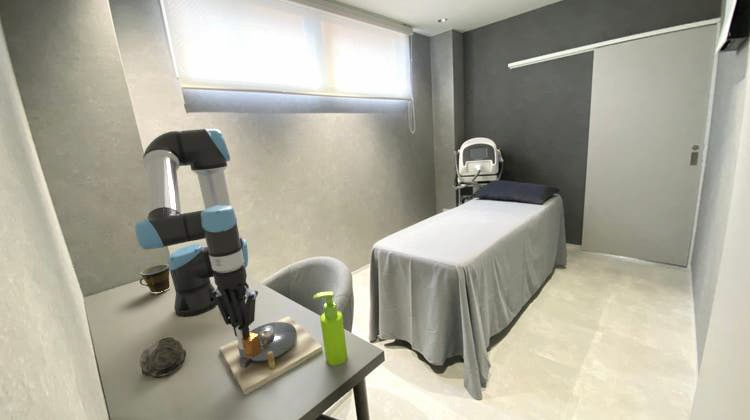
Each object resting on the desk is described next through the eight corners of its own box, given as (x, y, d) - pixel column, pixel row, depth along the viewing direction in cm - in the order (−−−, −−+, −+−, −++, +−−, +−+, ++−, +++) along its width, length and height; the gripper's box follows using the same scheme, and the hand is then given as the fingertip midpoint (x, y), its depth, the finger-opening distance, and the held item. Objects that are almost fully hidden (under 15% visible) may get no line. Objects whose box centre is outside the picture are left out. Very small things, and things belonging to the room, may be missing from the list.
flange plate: (266, 322, 102) (262, 304, 100) (307, 331, 96) (304, 312, 94) (220, 360, 86) (215, 340, 84) (267, 374, 80) (262, 352, 78)
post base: (220, 351, 94) (216, 334, 93) (289, 319, 107) (286, 304, 106) (244, 395, 78) (240, 374, 76) (322, 350, 91) (319, 332, 89)
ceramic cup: (159, 284, 142) (154, 264, 140) (179, 284, 141) (174, 264, 138) (134, 300, 130) (128, 278, 127) (156, 300, 128) (150, 278, 126)
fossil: (165, 383, 83) (140, 354, 81) (145, 393, 86) (121, 365, 84) (195, 353, 93) (174, 327, 91) (176, 363, 96) (155, 337, 94)
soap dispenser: (323, 352, 90) (314, 289, 85) (347, 349, 91) (339, 286, 86) (321, 367, 85) (311, 300, 80) (347, 363, 85) (339, 297, 80)
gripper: (196, 272, 78) (215, 352, 85) (241, 275, 75) (257, 358, 81) (217, 259, 85) (233, 334, 92) (259, 261, 82) (273, 339, 88)
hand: (244, 345), depth 86 cm, fingers closed
